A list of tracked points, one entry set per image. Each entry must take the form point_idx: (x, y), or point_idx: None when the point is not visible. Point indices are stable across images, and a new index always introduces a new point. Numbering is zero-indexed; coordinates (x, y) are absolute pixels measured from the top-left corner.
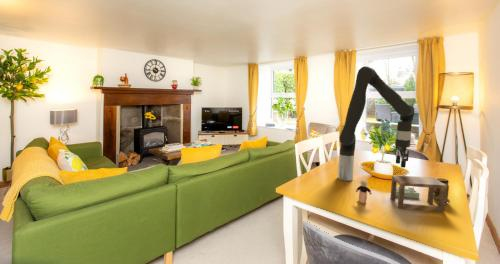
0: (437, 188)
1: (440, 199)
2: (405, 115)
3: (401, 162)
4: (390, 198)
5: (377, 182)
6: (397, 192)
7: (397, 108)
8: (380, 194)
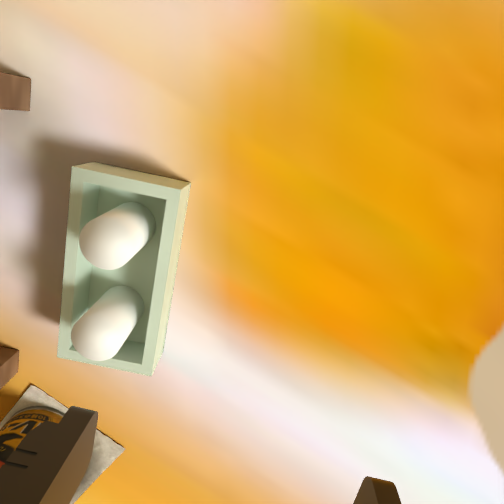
0: None
1: None
2: None
3: (17, 486)
4: (23, 77)
5: (482, 203)
6: (73, 182)
7: None
8: (143, 43)
